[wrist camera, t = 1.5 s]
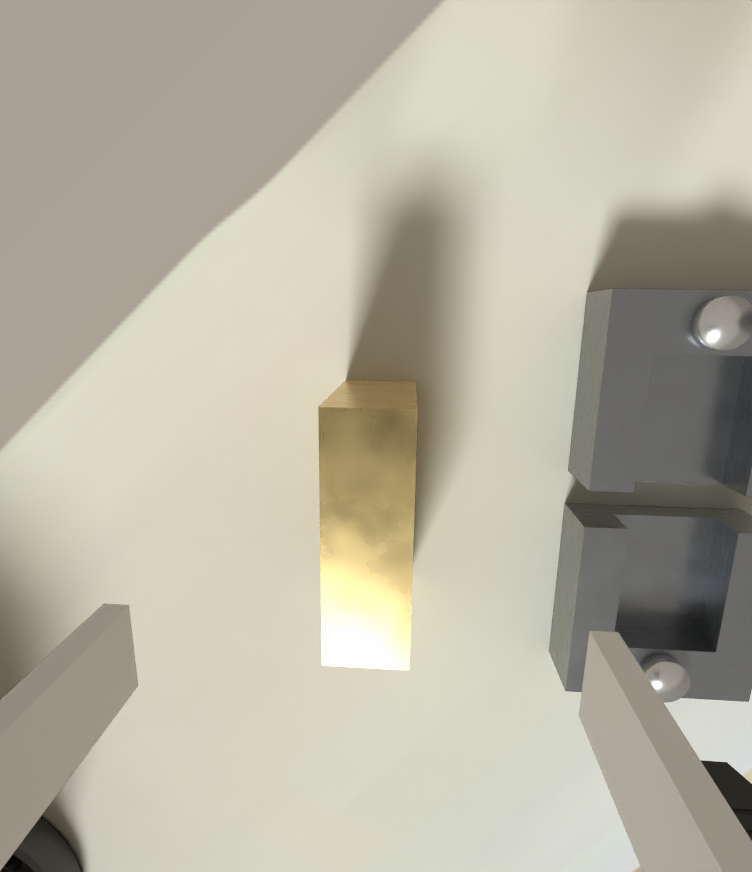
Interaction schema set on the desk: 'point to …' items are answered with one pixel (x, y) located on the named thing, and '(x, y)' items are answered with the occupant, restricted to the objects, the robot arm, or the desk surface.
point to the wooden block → (367, 522)
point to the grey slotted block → (661, 462)
